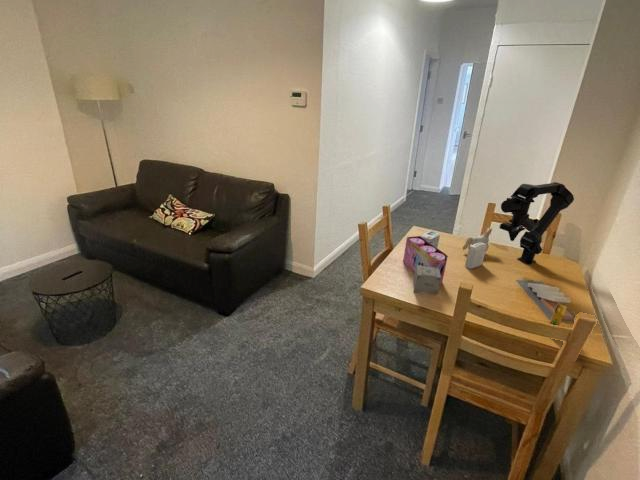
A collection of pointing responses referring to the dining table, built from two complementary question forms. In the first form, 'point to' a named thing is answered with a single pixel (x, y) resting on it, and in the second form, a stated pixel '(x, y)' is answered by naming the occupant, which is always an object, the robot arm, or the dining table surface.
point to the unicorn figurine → (478, 239)
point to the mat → (537, 299)
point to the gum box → (424, 255)
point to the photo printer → (475, 255)
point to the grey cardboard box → (426, 279)
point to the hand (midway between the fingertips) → (511, 240)
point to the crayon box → (558, 314)
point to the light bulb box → (431, 238)
